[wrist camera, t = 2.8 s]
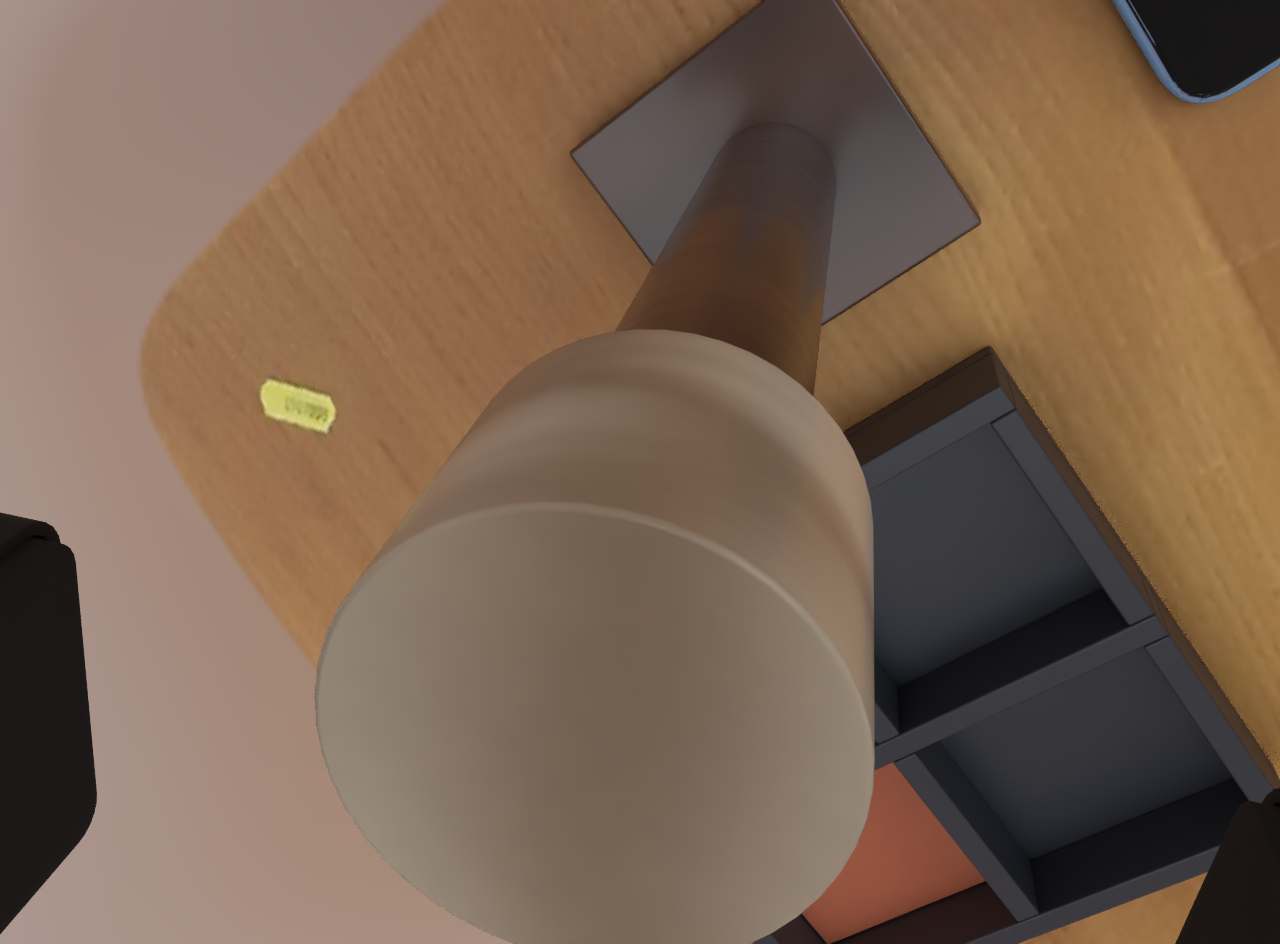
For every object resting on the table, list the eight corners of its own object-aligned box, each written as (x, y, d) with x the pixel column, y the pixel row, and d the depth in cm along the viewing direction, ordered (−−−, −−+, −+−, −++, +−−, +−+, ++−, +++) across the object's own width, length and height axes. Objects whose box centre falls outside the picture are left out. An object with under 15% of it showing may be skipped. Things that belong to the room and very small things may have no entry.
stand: (576, 145, 30) (233, 442, 14) (813, -40, 27) (732, 58, 11) (740, 367, 31) (608, 859, 15) (979, 213, 29) (1117, 617, 13)
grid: (536, 614, 36) (511, 668, 33) (989, 344, 30) (1000, 384, 28) (822, 949, 40) (819, 1019, 37) (1273, 766, 34) (1306, 836, 31)
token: (444, 650, 14) (305, 898, 11) (475, 287, 12) (317, 447, 9) (822, 737, 14) (807, 1022, 11) (920, 376, 12) (943, 580, 8)
